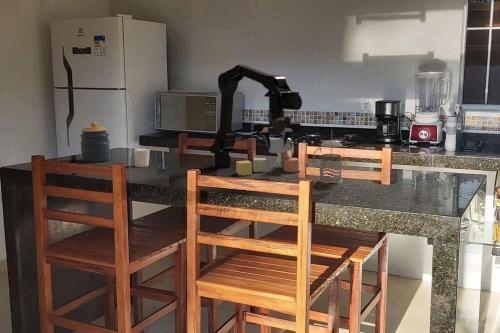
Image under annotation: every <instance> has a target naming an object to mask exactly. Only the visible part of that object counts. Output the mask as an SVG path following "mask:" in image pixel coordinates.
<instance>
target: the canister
mask: <svg viewBox="0 0 500 333" xmlns="http://www.w3.org/2000/svg"><path fill="white" fill-rule="evenodd" d="M80 131H81V133H80V134H79V137H80V142H79V144H80V160H81V162H84V163H101V162H100V161H104V162H108V161H110V159H111V153H110V148H111V147H110V142H111V141H110V140H109V136H110V133H108V132H107V131H108V129H107V128H106V127H105V126H102V125H98V123H97V122H96V121H92V122H91V124H90V125H89V126H84V128H81V130H80ZM107 160H108V161H107Z"/></svg>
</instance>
